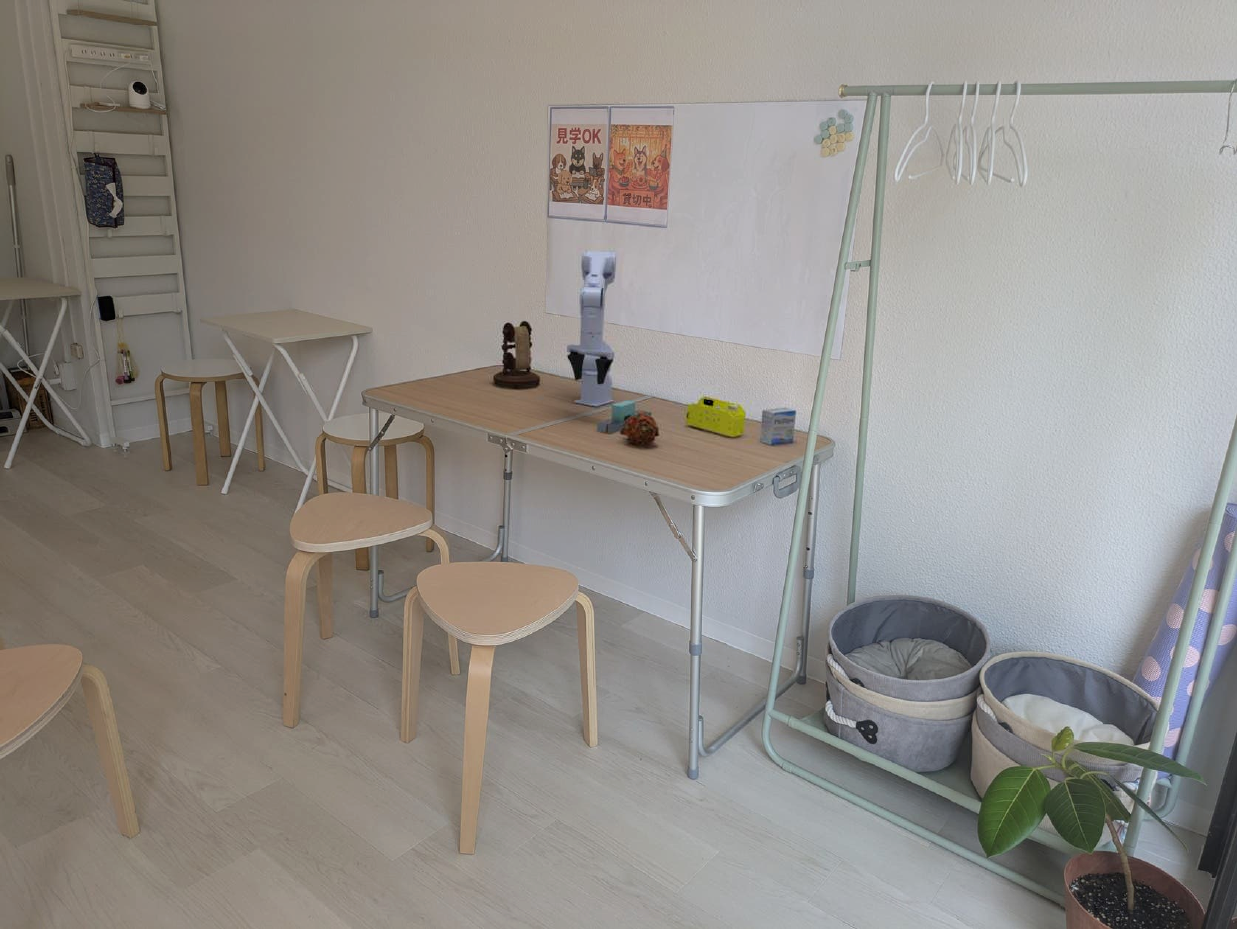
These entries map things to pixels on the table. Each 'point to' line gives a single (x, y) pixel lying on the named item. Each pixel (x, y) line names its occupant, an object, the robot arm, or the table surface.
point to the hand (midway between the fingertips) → (589, 381)
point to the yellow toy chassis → (716, 416)
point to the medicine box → (777, 426)
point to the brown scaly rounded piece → (640, 429)
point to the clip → (623, 410)
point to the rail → (615, 424)
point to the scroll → (517, 357)
